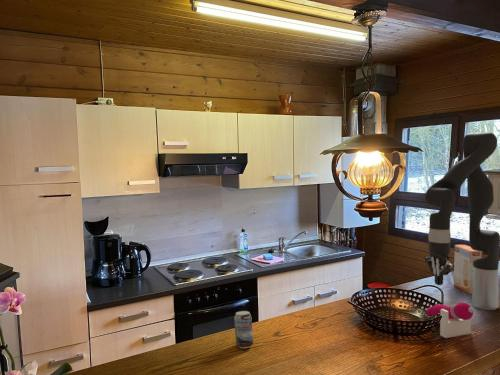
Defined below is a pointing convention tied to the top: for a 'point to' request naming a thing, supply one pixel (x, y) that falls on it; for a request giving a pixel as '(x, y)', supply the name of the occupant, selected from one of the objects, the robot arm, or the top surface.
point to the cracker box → (464, 267)
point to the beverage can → (243, 329)
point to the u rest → (453, 325)
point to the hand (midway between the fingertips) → (438, 284)
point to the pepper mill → (453, 311)
